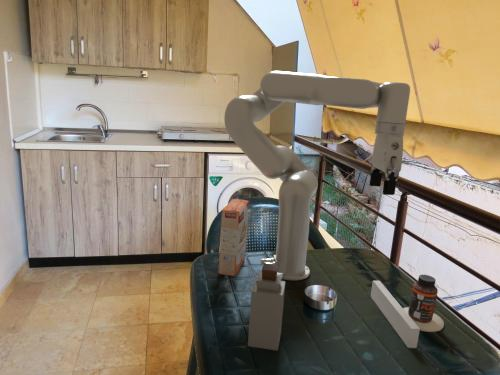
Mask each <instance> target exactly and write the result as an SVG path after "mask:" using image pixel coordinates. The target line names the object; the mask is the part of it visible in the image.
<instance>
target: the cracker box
mask: <svg viewBox="0 0 500 375" xmlns="http://www.w3.org/2000/svg"><path fill="white" fill-rule="evenodd" d="M249 206H250V201H249V200H245V199H239V198H238V199H236V198H232V199H231V200H230V201H229V202H228V203H227V205H225V206H224V207H223V208H222V209H221V219H220V220H221V221H220V234H219V238H220V240H219V253H218V255H219V256H218V257H219V258H218V270H217V271H218V274H219V275H223V276H229V277H230V276H231V277H236V276H237V274H238V272H239V271H240V269H241V267H242V265H243V264H244V262H245V260H246V248H247V236H248V234H247V233H248V223H249V222H248V221H249V219H248V218H249V210H250V209H249Z"/></svg>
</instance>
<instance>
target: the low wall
mask: <svg viewBox="0 0 500 375" xmlns="http://www.w3.org/2000/svg"><path fill="white" fill-rule="evenodd" d="M370 298H371V299H372V301H373V302H374V303H375V305H376V306H377V307H378V309H379V310H380V311H381V313H382V314H383V315H384V317H385V318H386V320H387V321H388V322H389V324H390V325H391V327H392V328H393V329H394V331H395V332H396V333H397V335H398V336H399V337H400V339H401V341H402V342H403V343H404V345H405V346H406V347H407V349H417V348H418V344H419V343H418V341H419V336H420V328H419V327H418V326H417V325H416V324H415V322H414V321H413V320H412V319H411V318H410V316H409V315H408V314H407V313H406V312H405V310H404V309H403V308H404V307H402V306H401V305H400V303H399V302H398V301H397V300H396V298H395V297H394V296H393V295H392V294H391V292H390V291H389V290H388V289H387V287H386V286H385V285H384V284H383V283H382V282H381V281H380V280H372V285H371V291H370Z"/></svg>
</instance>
